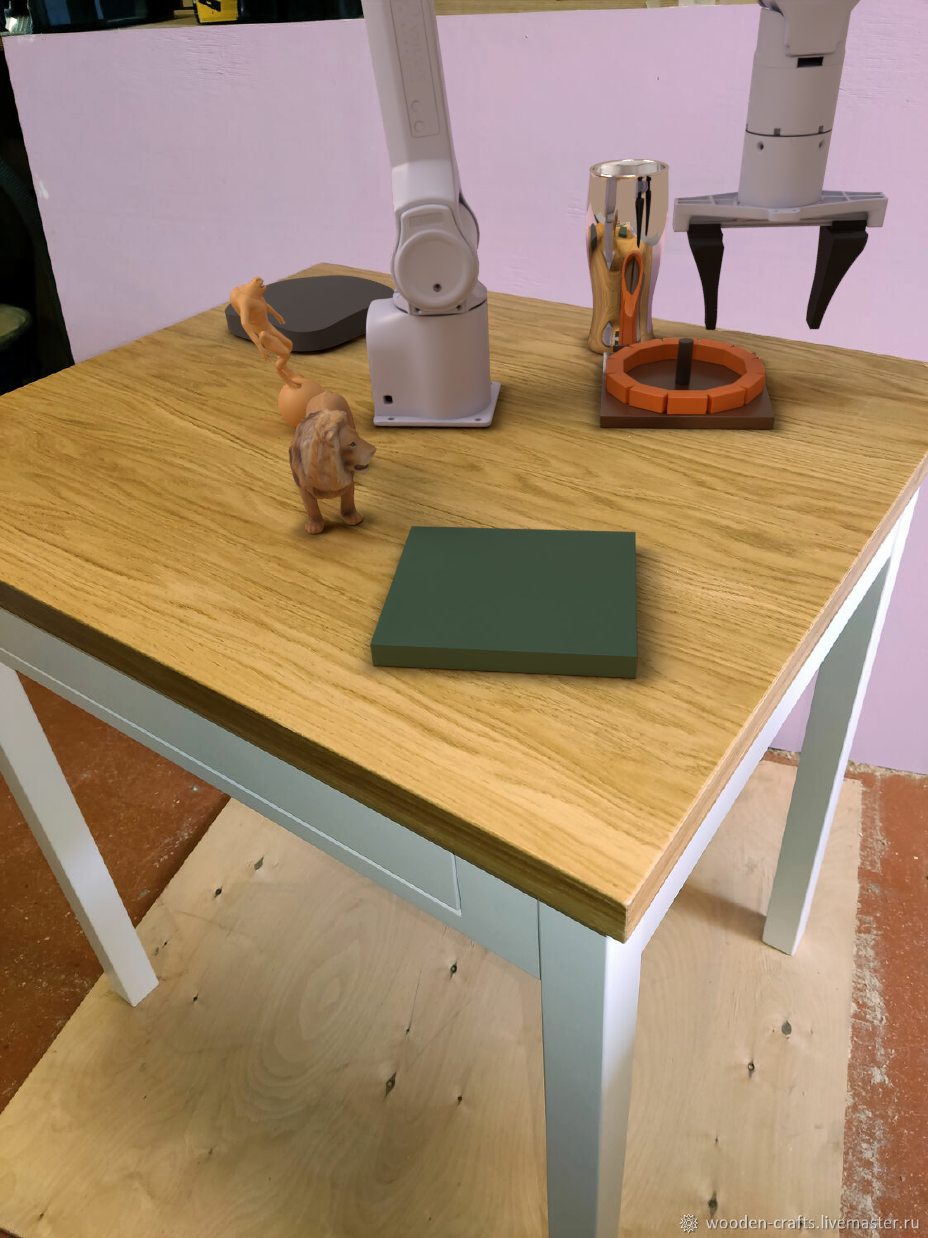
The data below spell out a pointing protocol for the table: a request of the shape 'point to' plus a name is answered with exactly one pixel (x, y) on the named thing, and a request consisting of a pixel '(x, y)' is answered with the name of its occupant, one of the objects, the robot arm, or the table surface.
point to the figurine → (274, 349)
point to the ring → (685, 399)
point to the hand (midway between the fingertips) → (760, 325)
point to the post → (684, 377)
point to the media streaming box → (317, 309)
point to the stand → (512, 602)
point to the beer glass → (625, 248)
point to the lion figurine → (328, 458)
